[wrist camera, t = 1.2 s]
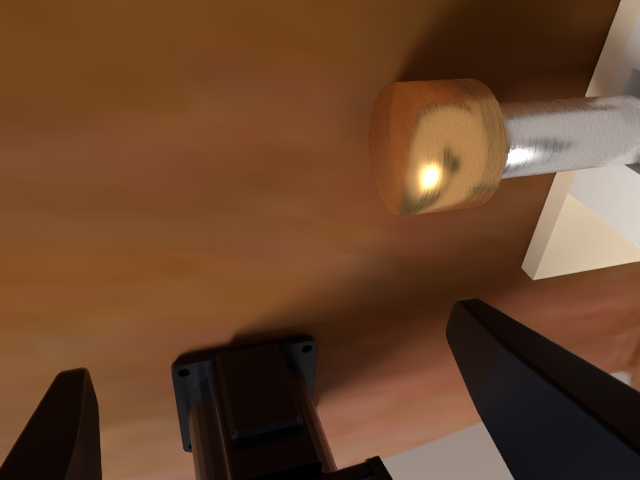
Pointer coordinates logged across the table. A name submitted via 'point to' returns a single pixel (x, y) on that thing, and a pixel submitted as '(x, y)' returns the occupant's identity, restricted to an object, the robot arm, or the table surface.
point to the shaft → (487, 141)
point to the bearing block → (595, 180)
